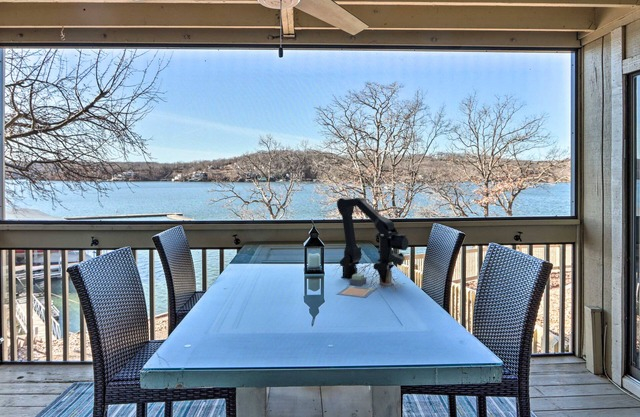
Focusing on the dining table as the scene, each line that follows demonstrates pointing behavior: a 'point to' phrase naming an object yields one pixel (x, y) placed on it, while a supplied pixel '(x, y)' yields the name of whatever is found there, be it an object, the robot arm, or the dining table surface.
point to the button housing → (358, 281)
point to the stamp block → (388, 278)
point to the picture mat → (356, 291)
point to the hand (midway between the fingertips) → (385, 281)
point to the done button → (358, 276)
